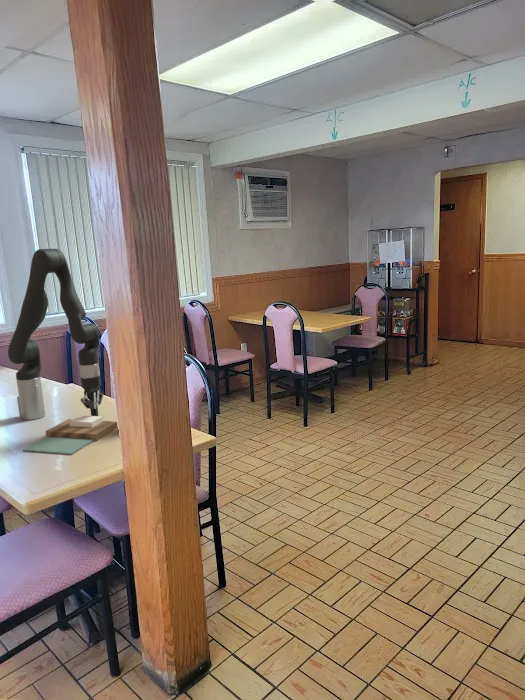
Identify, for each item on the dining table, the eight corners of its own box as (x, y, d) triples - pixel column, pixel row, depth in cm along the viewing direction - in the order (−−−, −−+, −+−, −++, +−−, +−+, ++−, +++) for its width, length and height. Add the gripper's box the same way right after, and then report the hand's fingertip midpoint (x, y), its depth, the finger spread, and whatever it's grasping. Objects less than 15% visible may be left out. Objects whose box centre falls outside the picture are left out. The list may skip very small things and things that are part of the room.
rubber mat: (23, 451, 182) (22, 449, 182) (47, 437, 194) (47, 436, 194) (71, 454, 177) (71, 453, 176) (93, 441, 189) (93, 439, 189)
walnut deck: (46, 437, 195) (45, 431, 195) (69, 424, 208) (68, 419, 208) (96, 440, 189) (96, 434, 189) (117, 427, 202) (116, 421, 202)
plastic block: (69, 426, 199) (69, 421, 199) (80, 420, 206) (80, 415, 205) (92, 427, 196) (91, 422, 196) (102, 421, 203) (102, 416, 203)
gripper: (91, 370, 210) (96, 411, 214) (71, 378, 198) (76, 422, 201) (107, 371, 208) (112, 412, 211) (88, 379, 196) (93, 422, 199)
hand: (94, 417), depth 206 cm, fingers closed
